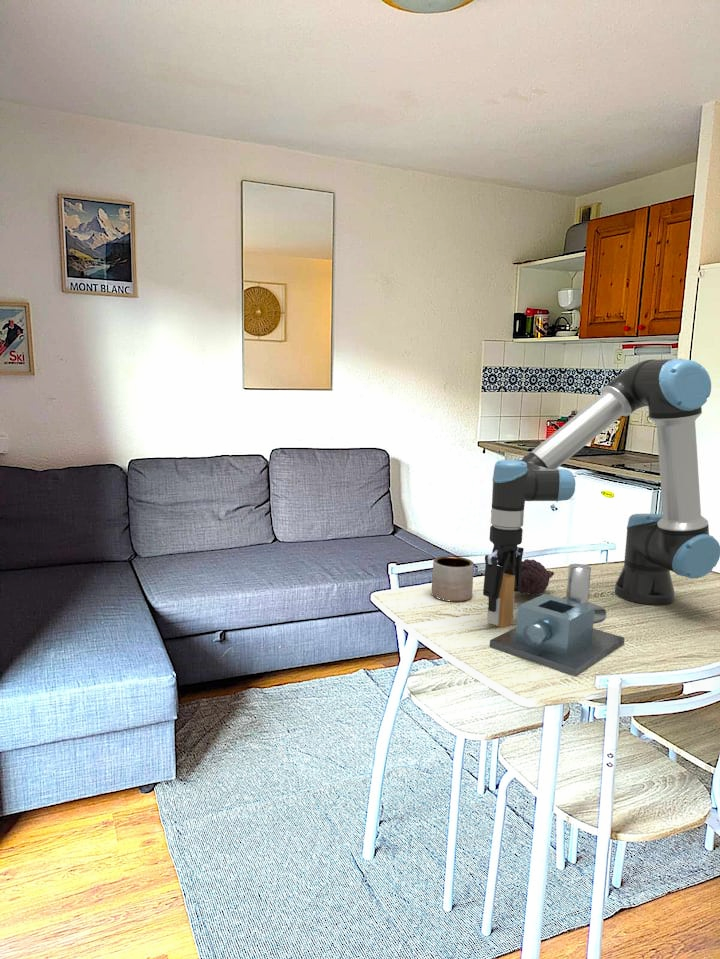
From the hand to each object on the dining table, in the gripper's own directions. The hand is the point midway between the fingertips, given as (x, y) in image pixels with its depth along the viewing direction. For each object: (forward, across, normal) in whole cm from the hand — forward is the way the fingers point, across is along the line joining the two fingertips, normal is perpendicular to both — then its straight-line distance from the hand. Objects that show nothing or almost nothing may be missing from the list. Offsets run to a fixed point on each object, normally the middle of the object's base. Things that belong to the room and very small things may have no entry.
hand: (500, 620), depth 163 cm
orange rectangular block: (+1, 0, 0) cm, 1 cm away
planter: (+1, -8, -20) cm, 22 cm away
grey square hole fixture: (+1, +1, +16) cm, 16 cm away
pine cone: (+1, -24, -6) cm, 25 cm away
